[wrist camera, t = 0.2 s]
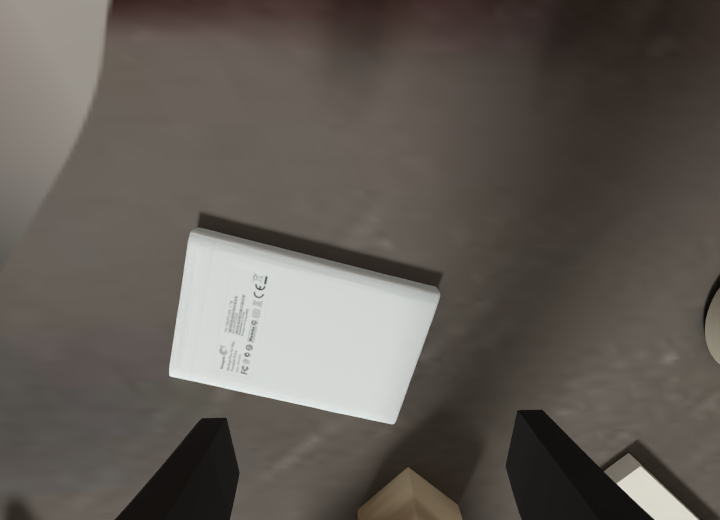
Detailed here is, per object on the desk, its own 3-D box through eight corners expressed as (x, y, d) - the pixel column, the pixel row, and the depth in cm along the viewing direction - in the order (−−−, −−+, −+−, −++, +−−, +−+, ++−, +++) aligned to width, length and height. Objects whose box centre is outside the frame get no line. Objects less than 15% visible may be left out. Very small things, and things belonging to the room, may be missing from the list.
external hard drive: (391, 408, 22) (179, 363, 21) (434, 282, 20) (201, 223, 19) (394, 428, 21) (165, 380, 20) (442, 294, 19) (187, 230, 17)
